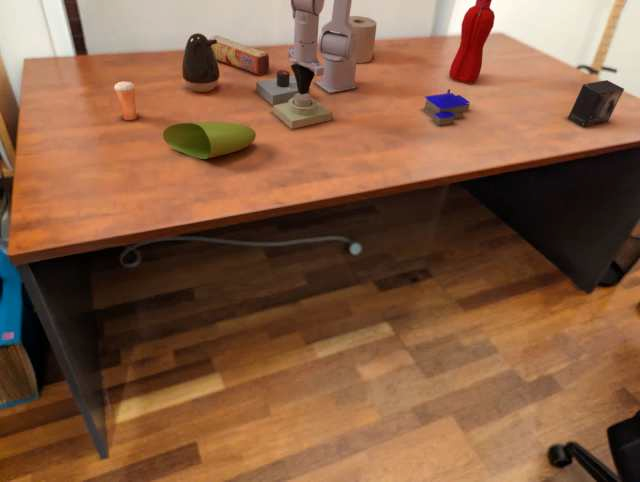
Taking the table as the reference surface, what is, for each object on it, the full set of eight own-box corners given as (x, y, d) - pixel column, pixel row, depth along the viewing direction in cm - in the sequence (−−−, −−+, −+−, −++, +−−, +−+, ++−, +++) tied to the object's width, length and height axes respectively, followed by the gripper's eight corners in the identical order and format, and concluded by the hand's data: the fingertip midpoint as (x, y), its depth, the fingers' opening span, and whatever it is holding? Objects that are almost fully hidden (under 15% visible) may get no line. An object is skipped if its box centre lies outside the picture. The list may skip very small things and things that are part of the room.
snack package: (271, 71, 155) (271, 49, 150) (257, 77, 150) (257, 55, 146) (220, 53, 163) (219, 32, 158) (206, 59, 158) (204, 37, 154)
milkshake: (145, 114, 127) (138, 76, 121) (132, 123, 123) (125, 84, 117) (129, 110, 128) (122, 73, 122) (116, 119, 124) (108, 80, 118)
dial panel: (292, 84, 148) (292, 74, 146) (309, 98, 142) (310, 87, 140) (256, 91, 142) (256, 81, 140) (272, 105, 136) (272, 94, 134)
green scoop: (177, 133, 102) (265, 123, 111) (161, 119, 111) (243, 111, 121) (180, 169, 106) (265, 156, 115) (165, 152, 115) (244, 142, 124)
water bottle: (445, 81, 158) (466, -3, 142) (451, 70, 166) (471, -11, 150) (474, 88, 156) (498, 3, 140) (479, 76, 164) (502, -5, 148)
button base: (311, 105, 138) (311, 91, 136) (330, 120, 132) (331, 106, 130) (273, 112, 133) (273, 98, 130) (291, 129, 127) (292, 114, 124)
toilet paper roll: (339, 48, 175) (342, 14, 167) (373, 52, 174) (378, 18, 166) (335, 60, 165) (339, 24, 158) (371, 65, 165) (376, 29, 157)
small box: (584, 128, 139) (600, 93, 133) (566, 118, 144) (581, 83, 137) (609, 122, 143) (626, 88, 137) (590, 113, 148) (606, 79, 141)
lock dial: (274, 83, 140) (274, 70, 138) (285, 81, 142) (285, 68, 140) (280, 88, 138) (280, 74, 136) (291, 86, 140) (292, 72, 137)
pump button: (305, 98, 133) (305, 91, 131) (314, 105, 130) (315, 98, 129) (290, 102, 131) (290, 94, 129) (299, 109, 128) (299, 101, 126)
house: (480, 120, 139) (486, 101, 135) (438, 126, 134) (443, 107, 130) (457, 103, 146) (462, 84, 143) (416, 108, 141) (420, 89, 138)
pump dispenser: (213, 98, 137) (209, 42, 127) (178, 92, 138) (171, 37, 128) (226, 84, 145) (223, 30, 135) (192, 79, 146) (187, 25, 136)
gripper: (276, 32, 122) (276, 84, 131) (307, 51, 113) (304, 107, 122) (301, 28, 125) (299, 80, 134) (332, 47, 116) (328, 102, 125)
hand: (303, 93), depth 128 cm, fingers closed
